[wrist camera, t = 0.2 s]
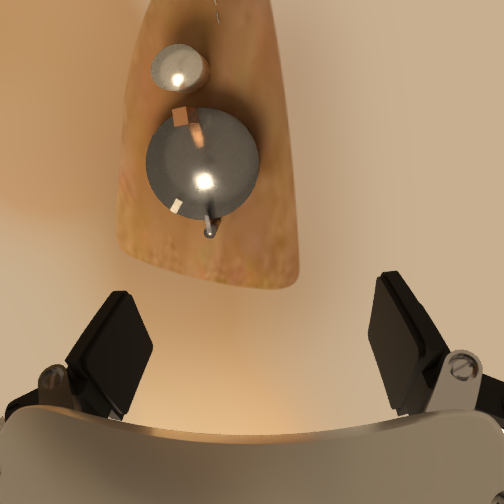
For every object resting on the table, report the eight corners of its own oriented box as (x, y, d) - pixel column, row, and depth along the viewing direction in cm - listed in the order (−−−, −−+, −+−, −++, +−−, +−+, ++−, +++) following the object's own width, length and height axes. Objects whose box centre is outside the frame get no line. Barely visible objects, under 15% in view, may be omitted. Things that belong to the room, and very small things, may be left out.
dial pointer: (207, 206, 40) (200, 216, 36) (217, 205, 40) (212, 215, 36) (210, 226, 41) (204, 239, 37) (221, 225, 41) (216, 237, 37)
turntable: (143, 120, 33) (119, 123, 27) (252, 100, 31) (248, 96, 25) (163, 220, 40) (145, 240, 33) (265, 209, 38) (264, 228, 32)
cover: (165, 59, 30) (148, 51, 24) (207, 49, 29) (197, 38, 24) (170, 97, 32) (153, 95, 27) (212, 88, 32) (203, 84, 27)
